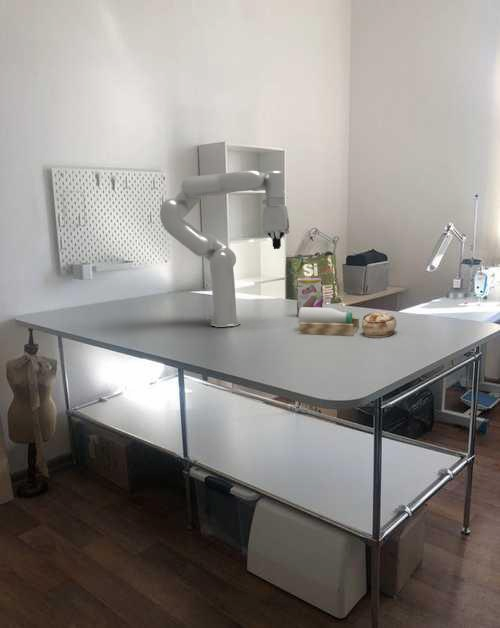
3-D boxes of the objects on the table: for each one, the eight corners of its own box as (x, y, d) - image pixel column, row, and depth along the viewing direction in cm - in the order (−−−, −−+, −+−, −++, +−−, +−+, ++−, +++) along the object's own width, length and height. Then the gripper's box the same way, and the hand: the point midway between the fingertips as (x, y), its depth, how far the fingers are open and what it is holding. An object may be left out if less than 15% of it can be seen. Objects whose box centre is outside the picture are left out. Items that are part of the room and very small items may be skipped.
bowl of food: (391, 328, 206) (391, 308, 204) (403, 337, 191) (403, 315, 189) (356, 330, 205) (356, 310, 204) (366, 339, 190) (365, 317, 189)
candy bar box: (297, 317, 236) (296, 280, 233) (297, 314, 241) (296, 278, 238) (322, 316, 235) (322, 279, 232) (322, 314, 240) (321, 277, 237)
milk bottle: (297, 327, 207) (349, 328, 200) (297, 307, 207) (349, 308, 200) (302, 326, 214) (353, 327, 207) (303, 306, 214) (353, 307, 207)
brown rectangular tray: (299, 333, 203) (299, 323, 202) (309, 326, 216) (309, 316, 215) (352, 335, 196) (352, 325, 195) (359, 327, 209) (359, 317, 208)
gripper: (254, 203, 214) (256, 249, 217) (290, 201, 208) (291, 249, 212) (260, 203, 221) (262, 248, 224) (295, 201, 215) (297, 247, 219)
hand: (276, 248), depth 218 cm, fingers closed
